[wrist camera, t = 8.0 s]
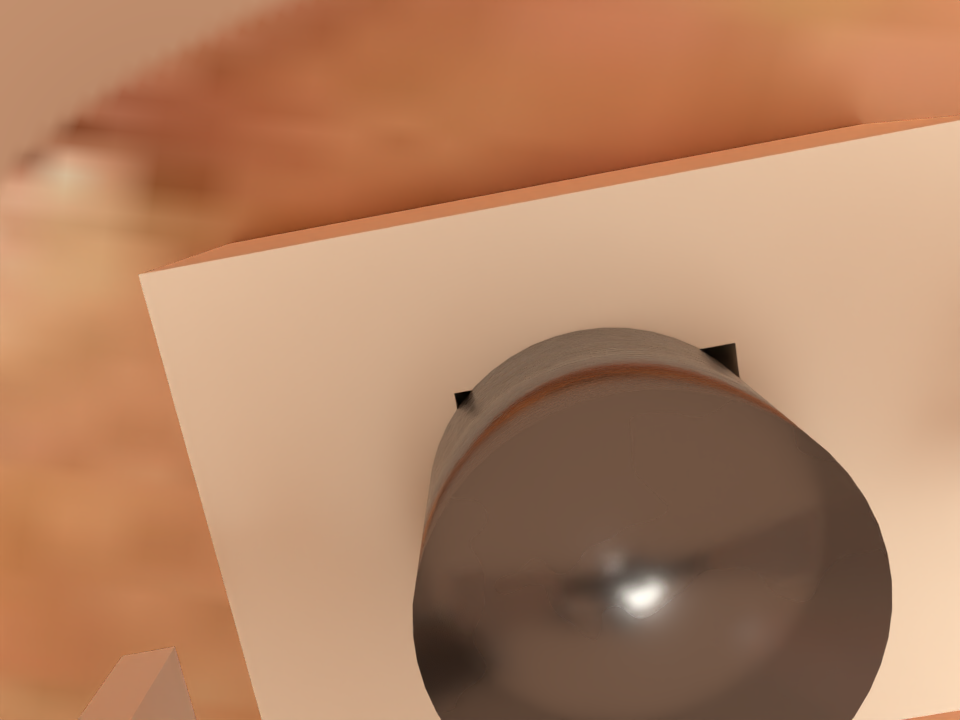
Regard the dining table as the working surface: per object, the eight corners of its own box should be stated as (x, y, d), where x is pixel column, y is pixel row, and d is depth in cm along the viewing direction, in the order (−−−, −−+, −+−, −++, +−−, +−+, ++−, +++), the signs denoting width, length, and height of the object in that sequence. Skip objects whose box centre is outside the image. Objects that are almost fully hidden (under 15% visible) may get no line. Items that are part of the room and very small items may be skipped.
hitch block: (333, 661, 24) (289, 819, 19) (228, 243, 22) (138, 274, 16) (898, 565, 24) (1035, 697, 18) (862, 123, 21) (1010, 110, 15)
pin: (467, 564, 23) (461, 858, 13) (415, 313, 22) (366, 438, 12) (725, 520, 23) (909, 785, 13) (692, 262, 21) (872, 348, 12)
